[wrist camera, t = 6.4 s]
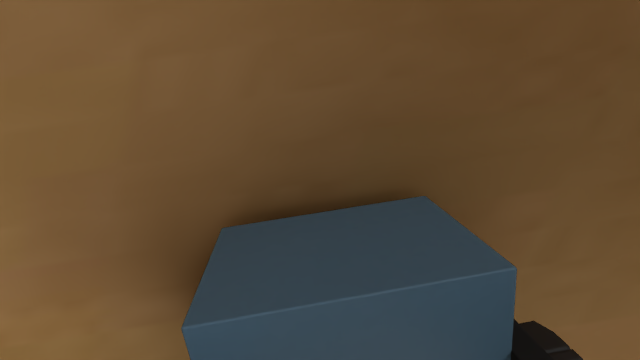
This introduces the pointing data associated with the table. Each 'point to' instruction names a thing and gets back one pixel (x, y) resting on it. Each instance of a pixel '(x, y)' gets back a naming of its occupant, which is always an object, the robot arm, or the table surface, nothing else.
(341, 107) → the table surface
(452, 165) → the table surface
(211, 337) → the blue block
